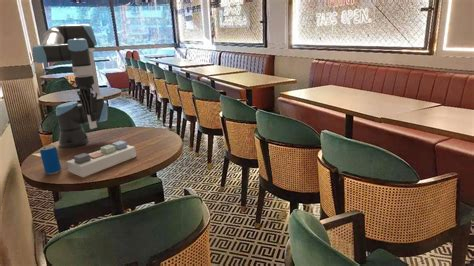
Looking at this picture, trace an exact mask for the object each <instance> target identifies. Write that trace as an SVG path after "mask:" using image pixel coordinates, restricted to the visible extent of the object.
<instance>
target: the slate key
mask: <svg viewBox="0 0 474 266" xmlns="http://www.w3.org/2000/svg"><path fill="white" fill-rule="evenodd" d="M111 145H113V146H115V149H116V150H121V149H124V148H127V145H128V144H127V141H124V140H118V141H116V142H113V143H112V144H111Z"/></svg>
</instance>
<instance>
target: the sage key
mask: <svg viewBox="0 0 474 266" xmlns="http://www.w3.org/2000/svg"><path fill="white" fill-rule="evenodd" d="M99 148H100V149H99V150H101V153H103V154H106V155H107V154H110V153H113V152H115V151H116V149H115V146H113V145H112V144H107V145H104V146H100V147H99Z"/></svg>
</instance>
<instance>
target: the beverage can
mask: <svg viewBox="0 0 474 266" xmlns="http://www.w3.org/2000/svg"><path fill="white" fill-rule="evenodd" d="M39 153H40V157H41V161H42V165H43V169H44V173H45V174H47V175H56V174H57V173H60V171H61V170H62V167H61V166H62V165H61V162H60V158H59V153H58V149H57V147H56V145H53V144H49V145H45V146H42V147H40V151H39Z"/></svg>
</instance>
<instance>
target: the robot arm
mask: <svg viewBox="0 0 474 266" xmlns="http://www.w3.org/2000/svg"><path fill="white" fill-rule="evenodd" d="M97 46H98V42H97V39H96V36H95V32H94V30H93V27H92V25H91V24H88V23H77V24H59V25H55V26H53V27H50V28H49V29H47V30H46V31H45V32H44V33H43V35H42V43H41V44H39V45H33V46H32V47H31V51H32V56H33V60H34V61H35V62H36V63H37V64H51V63H62V62H70V63H71V66H72V67H71V68H72V70H71V71H72V72H73V76H74V82H75V85H76V87H78V88H79V89H78V90H76V93H77V95H78V98H79V101H80V103H79V102H78V101H76V100H74V101H69V102H65V103H62V104H61V103H60V104H59V105H57V106H56V107H55V114H56V115H55V116H56V118H57V124H58V127H59V139H58V145H59V147H60V148H74V147H75V148H76V147H78V146H79V147H81V146H83V145H85V144H87V143H88V142H89V141H90V140H89V137H88V135H87V134H86V133H87V132H86V131H85V129H84V128H83V125H86V124H87V125H89V129H90V130H93V129H96V128H98V125H97V123H100V122H105V121H107V120H108V101H107V100H105V98H104V97H103V96H102V95H101V93H100V92H101V91H100V85H99V80H98V75H97V68H96V62H95V57H94V51H95V50H96V47H97Z"/></svg>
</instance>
